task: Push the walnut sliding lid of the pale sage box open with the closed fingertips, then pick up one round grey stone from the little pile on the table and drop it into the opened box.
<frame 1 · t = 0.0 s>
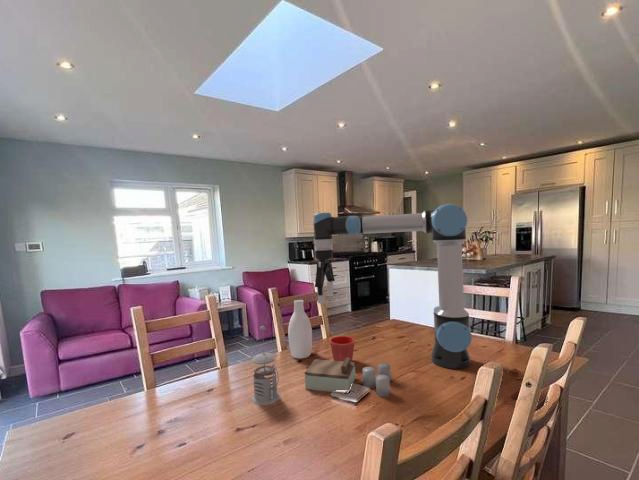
hand: (326, 299, 133), 28 cm above the table, fingers open, 13 cm apart
grey stone 1: (369, 384, 115), on the table
sage box: (331, 383, 117), on the table
flower pot: (343, 362, 136), on the table
grey stone 2: (384, 380, 118), on the table
walnut lid: (330, 364, 117), point 7 cm above the table, slide at 0.0 cm
french press: (267, 399, 108), on the table
bottle: (301, 355, 146), on the table
grey stone 3: (383, 393, 108), on the table
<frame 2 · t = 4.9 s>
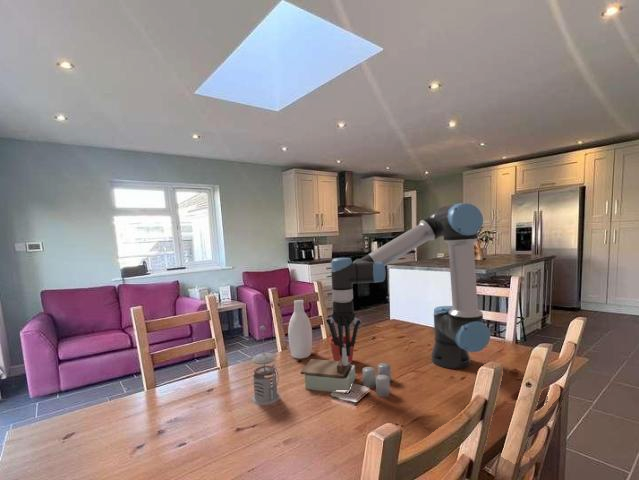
hand: (345, 364, 115), 8 cm above the table, fingers closed
walnut lid: (326, 364, 118), point 7 cm above the table, slide at 1.6 cm, touching gripper
everything else where it was.
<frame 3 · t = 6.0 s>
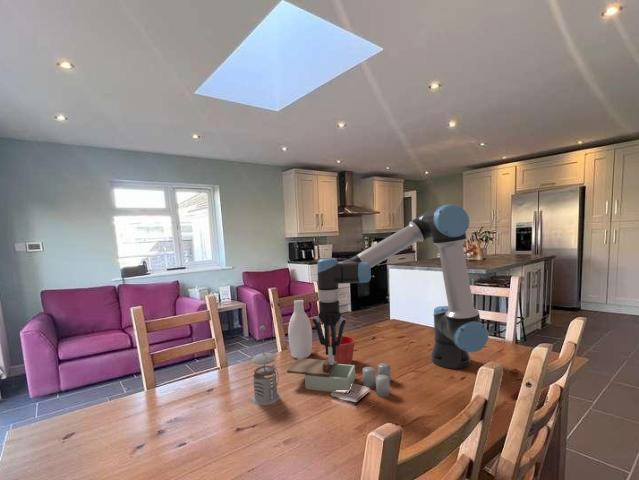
hand: (331, 363, 117), 8 cm above the table, fingers closed
walnut lid: (312, 363, 119), point 7 cm above the table, slide at 6.9 cm, touching gripper
everything else where it was.
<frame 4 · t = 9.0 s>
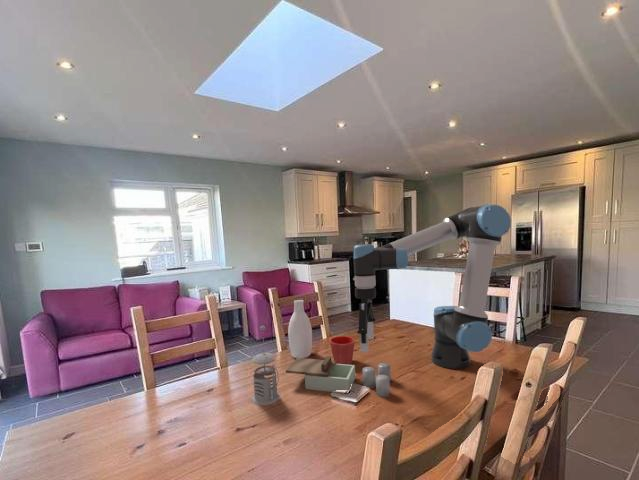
hand: (367, 345, 115), 15 cm above the table, fingers open, 13 cm apart
walnut lid: (311, 363, 119), point 7 cm above the table, slide at 7.5 cm
everything else where it was.
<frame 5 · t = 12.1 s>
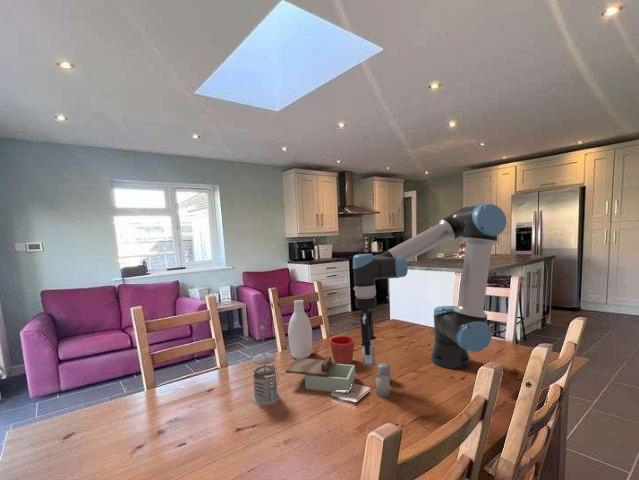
hand: (369, 359, 115), 9 cm above the table, fingers closed on grey stone 1, 4 cm apart
grey stone 1: (369, 363, 115), point 8 cm above the table, touching gripper
everything else where it was.
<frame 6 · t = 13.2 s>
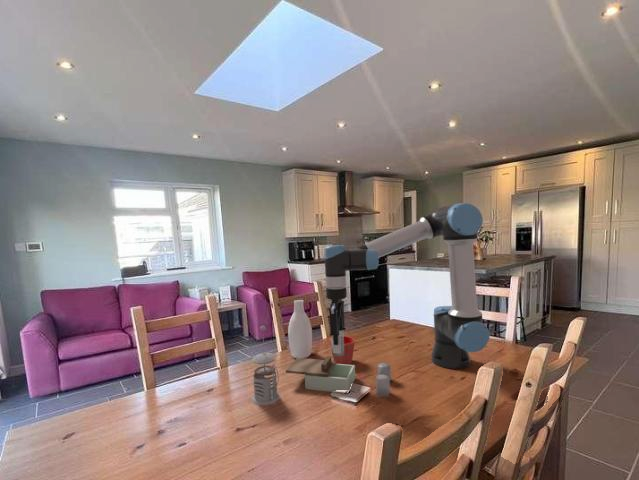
hand: (338, 350, 116), 13 cm above the table, fingers closed on grey stone 1, 4 cm apart
grey stone 1: (337, 353, 116), point 11 cm above the table, touching gripper
everything else where it was.
when the fingers open (5 cm above the table, at t = 14.5 s): grey stone 1 drops 3 cm, resting on sage box.
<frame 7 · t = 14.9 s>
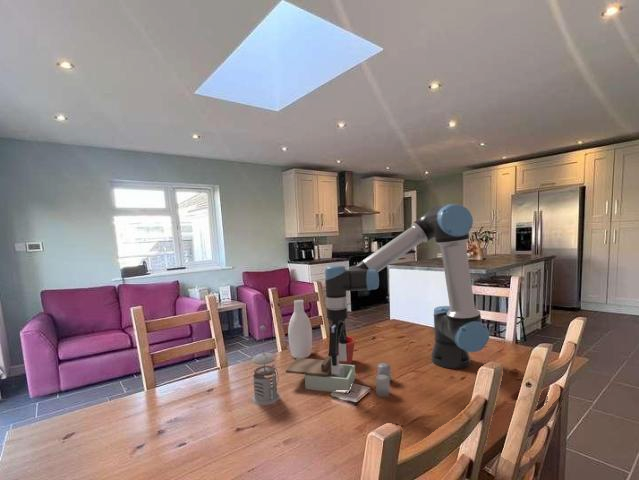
hand: (339, 366, 116), 6 cm above the table, fingers open, 11 cm apart
grey stone 1: (339, 382, 116), point 1 cm above the table, tilted 5°, touching sage box
everything else where it was.
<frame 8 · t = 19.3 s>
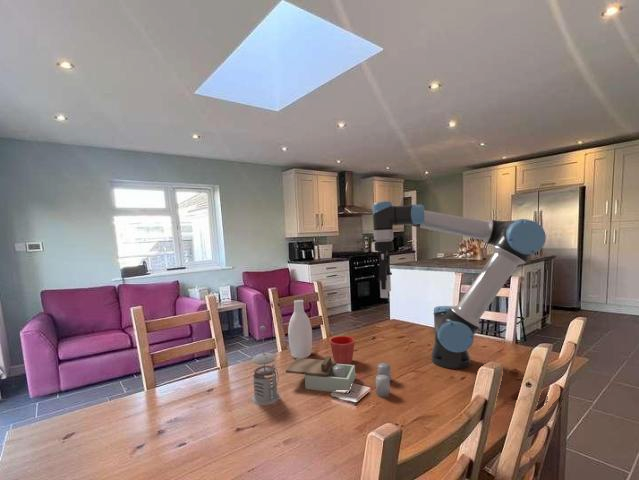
hand: (386, 294, 125), 31 cm above the table, fingers open, 13 cm apart
nothing on the table moved.
at the end: grey stone 1 inside the target area on the sage box (3.2 cm from its centre), point 0.7 cm above the sage box's base; walnut lid slide at 7.5 cm; the gripper is holding nothing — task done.
